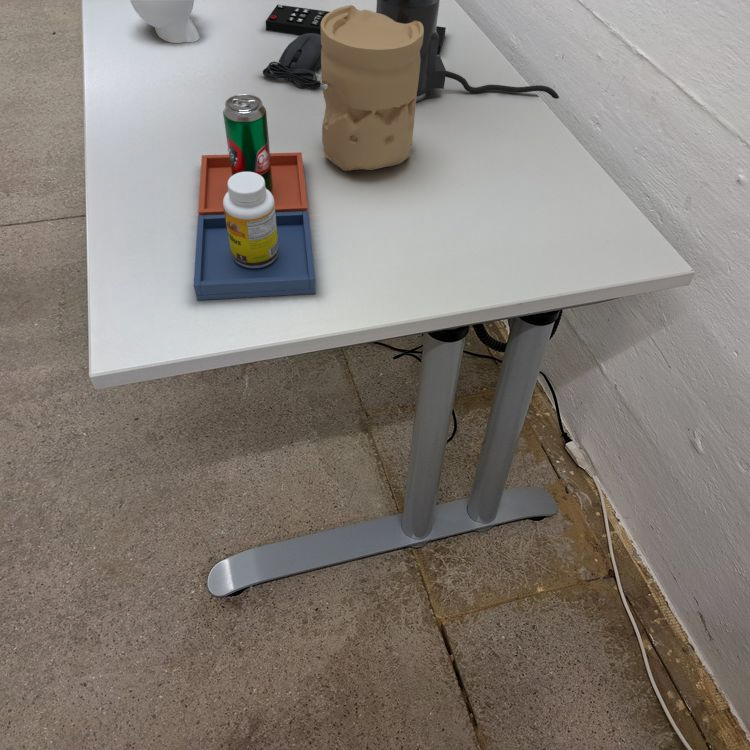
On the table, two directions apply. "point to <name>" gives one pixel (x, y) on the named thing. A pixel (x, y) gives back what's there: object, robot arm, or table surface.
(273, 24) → the remote control
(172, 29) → the figurine
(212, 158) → the terracotta tray
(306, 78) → the computer mouse
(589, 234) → the table surface
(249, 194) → the supplement bottle
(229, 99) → the soda can
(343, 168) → the container
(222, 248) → the blue tray
